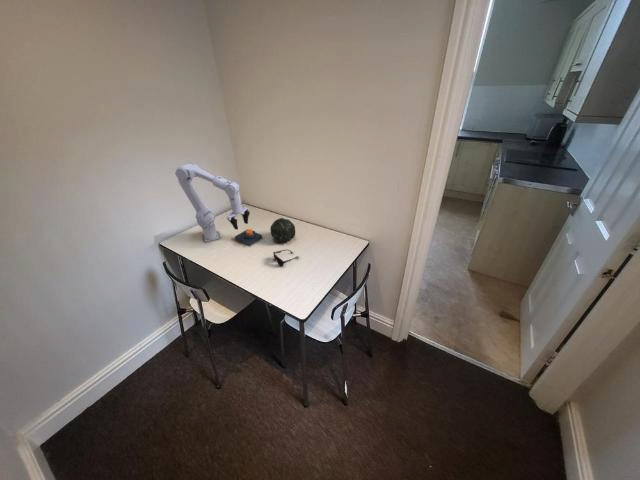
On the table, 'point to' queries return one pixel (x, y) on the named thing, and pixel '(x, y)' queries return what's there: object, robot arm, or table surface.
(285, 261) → the sunglasses
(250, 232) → the orange button
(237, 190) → the robot arm
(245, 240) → the dark blue button base
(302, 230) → the table surface
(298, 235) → the table surface
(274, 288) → the table surface
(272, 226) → the squash
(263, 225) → the table surface
